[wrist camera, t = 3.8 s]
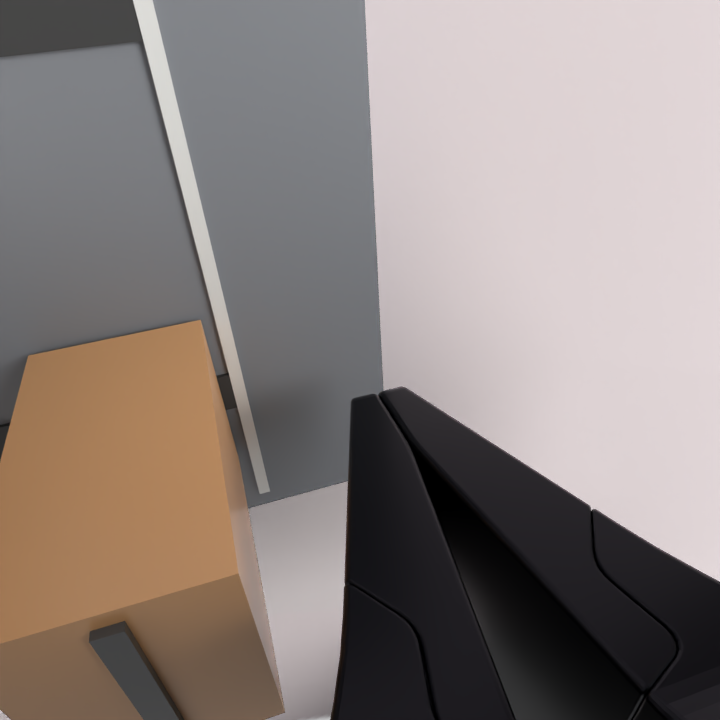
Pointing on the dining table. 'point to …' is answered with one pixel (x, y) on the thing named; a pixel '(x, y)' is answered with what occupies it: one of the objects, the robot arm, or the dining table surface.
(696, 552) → the dining table surface
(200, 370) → the block
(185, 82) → the console
